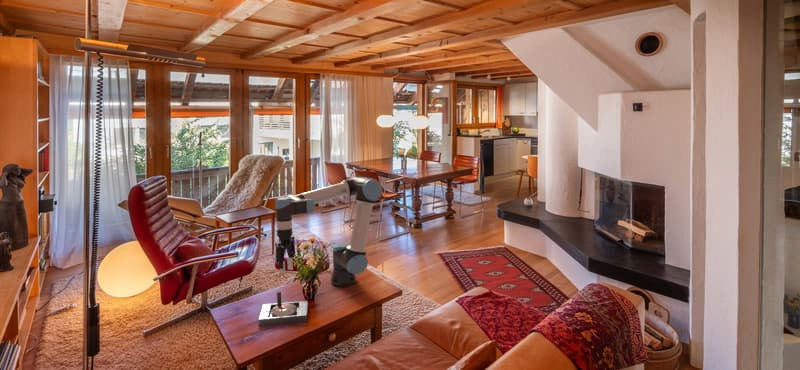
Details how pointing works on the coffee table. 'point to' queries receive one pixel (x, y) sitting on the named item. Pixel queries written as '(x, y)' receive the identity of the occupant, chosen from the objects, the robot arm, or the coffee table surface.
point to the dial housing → (268, 319)
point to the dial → (283, 308)
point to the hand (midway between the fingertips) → (286, 271)
